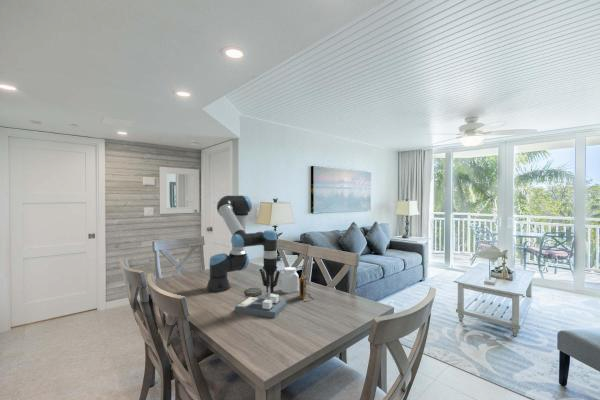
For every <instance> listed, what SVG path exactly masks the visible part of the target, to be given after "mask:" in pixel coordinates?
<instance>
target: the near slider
mask: <svg viewBox="0 0 600 400" xmlns="http://www.w3.org/2000/svg"><path fill="white" fill-rule="evenodd" d="M265 299H266V300H264V301H263V302H262V308H263V309H270V308H271V307H272V300H267V299H268V298H265Z"/></svg>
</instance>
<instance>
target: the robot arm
mask: <svg viewBox="0 0 600 400" xmlns="http://www.w3.org/2000/svg"><path fill="white" fill-rule="evenodd" d="M252 205H253V204H252V200H251V199H250V197H249V196H247V195H225V196H222V197H221V198H219V201H218V202H217V204H216V210H217V213H218V215H219V216H220V217H222V219H223V220H224V223H225V225H226V227H227V228H228V230H229V232H230V234H231V237H230V241H231V242H230V243H231V250H229V255H228V254H227V253H218V254H214V255H212V256H211V257H210V258H209V264H208V265H209V279H208V282H207V285H206V291H207V292H211V293H222V292H225V291H226V292H227V291H228V290H229V289H230V288H231V287H230V285H231V284H230V281H229V279H228V273H231V272H232V273H233V272H238V271H239V272H240V271H245V270H246V269H247V268H248V266H249V262H250V259H249V255H248V253H247V252H246V250H245V248H247V247H257V246H263V265H262V267H261V268H260V269H258V270H259V273H260V274H261V275H260V276H261V279H262V285H263V287H265V288H266V293H267V299H270V296H271V295H272V294H274V291H275V290H274V288H275V287H277V286H278V282H279V277H280V273H281V272H282V270H281V269H279V268H278V266H277V263H278V260H277V256H278V253H277V251H278V249H277V248H278V247H277V245H278V243H277V242H278V236H277V234H278V233H277V231H276V230H272V229H271V230H270V229H269V230H264V231H257V232H251V233H249V232H248V233H246V220H247V219H246V218H247V217H248V216H249V213H251V211H252V208H253V206H252Z"/></svg>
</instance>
